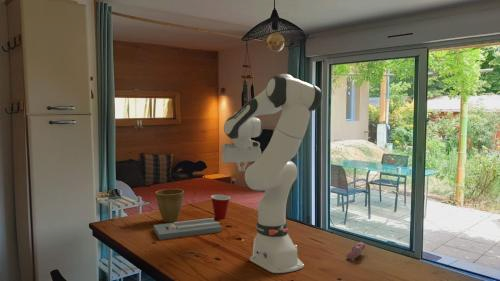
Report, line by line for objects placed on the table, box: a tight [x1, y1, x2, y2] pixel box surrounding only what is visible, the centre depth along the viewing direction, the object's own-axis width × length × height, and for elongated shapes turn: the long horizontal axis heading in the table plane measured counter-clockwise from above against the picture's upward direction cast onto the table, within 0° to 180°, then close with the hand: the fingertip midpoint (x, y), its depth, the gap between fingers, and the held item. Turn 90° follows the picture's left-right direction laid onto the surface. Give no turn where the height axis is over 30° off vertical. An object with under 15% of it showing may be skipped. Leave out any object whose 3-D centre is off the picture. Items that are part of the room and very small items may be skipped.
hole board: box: [153, 217, 223, 241], centre depth 184 cm, size 16×30×4 cm, turn 114°
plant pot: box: [155, 188, 185, 224], centre depth 201 cm, size 15×15×16 cm
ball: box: [168, 225, 176, 230], centre depth 181 cm, size 4×4×4 cm
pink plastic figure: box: [346, 241, 366, 260], centre depth 151 cm, size 10×5×7 cm, turn 151°
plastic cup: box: [210, 194, 231, 220], centre depth 208 cm, size 11×11×12 cm
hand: (241, 170), depth 186 cm, fingers closed
